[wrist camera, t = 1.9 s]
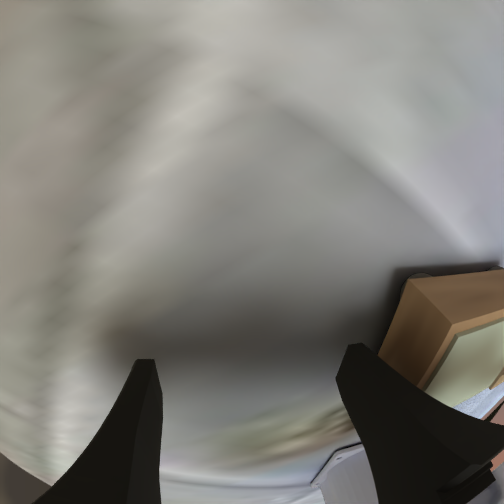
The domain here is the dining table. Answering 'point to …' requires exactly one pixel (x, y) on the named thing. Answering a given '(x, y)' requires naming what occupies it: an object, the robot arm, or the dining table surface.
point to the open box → (449, 334)
